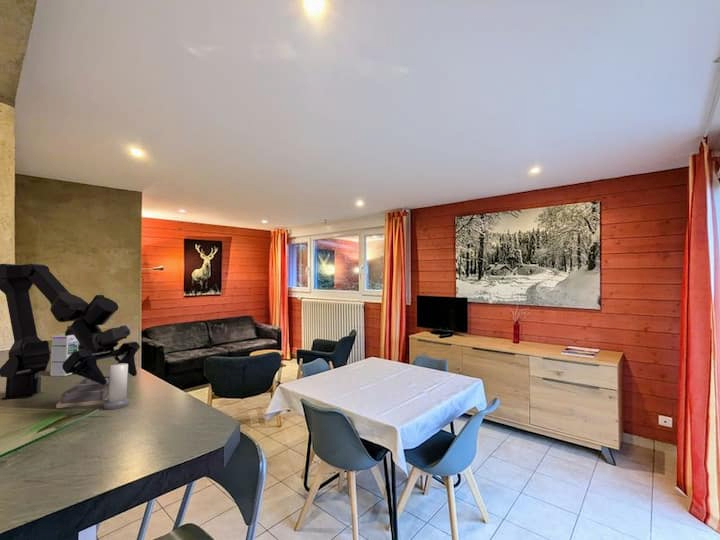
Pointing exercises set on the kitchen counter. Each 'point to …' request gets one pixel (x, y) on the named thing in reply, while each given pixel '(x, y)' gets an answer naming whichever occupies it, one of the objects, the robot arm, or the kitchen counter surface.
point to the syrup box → (62, 352)
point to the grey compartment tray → (85, 394)
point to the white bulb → (117, 387)
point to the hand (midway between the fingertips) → (121, 379)
